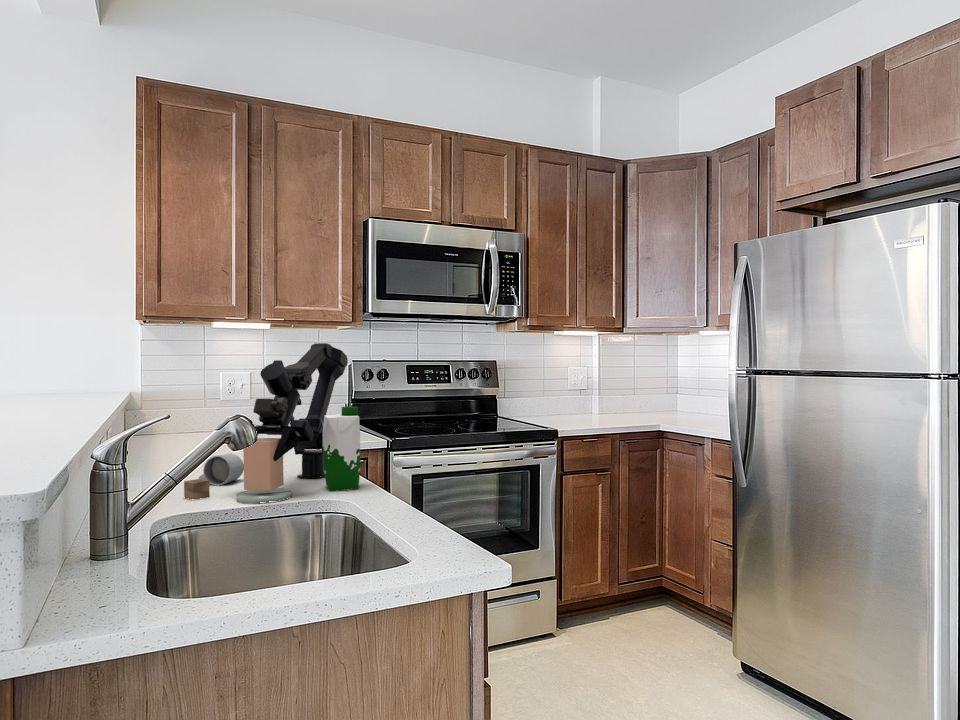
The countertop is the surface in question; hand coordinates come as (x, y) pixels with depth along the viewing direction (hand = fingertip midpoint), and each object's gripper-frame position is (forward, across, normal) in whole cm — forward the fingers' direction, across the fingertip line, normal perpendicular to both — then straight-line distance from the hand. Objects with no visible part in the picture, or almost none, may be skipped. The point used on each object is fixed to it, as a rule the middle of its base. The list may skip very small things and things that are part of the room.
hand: (260, 459), depth 147 cm
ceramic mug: (-6, -21, +19) cm, 29 cm away
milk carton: (-4, +14, +17) cm, 22 cm away
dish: (+6, 0, +7) cm, 9 cm away
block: (+6, -16, +6) cm, 19 cm away
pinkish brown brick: (+4, 0, +6) cm, 7 cm away
